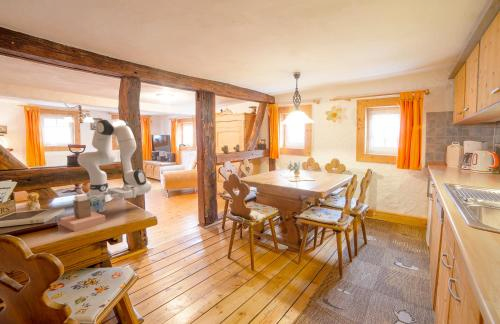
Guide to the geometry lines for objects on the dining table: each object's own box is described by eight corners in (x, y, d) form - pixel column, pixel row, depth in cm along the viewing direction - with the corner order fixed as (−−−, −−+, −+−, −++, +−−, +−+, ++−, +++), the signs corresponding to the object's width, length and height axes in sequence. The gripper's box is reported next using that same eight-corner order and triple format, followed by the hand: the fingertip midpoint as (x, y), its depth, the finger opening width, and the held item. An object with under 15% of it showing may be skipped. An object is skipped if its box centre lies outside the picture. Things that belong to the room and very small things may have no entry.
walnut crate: (74, 217, 139) (73, 200, 138) (86, 214, 144) (84, 198, 143) (79, 219, 135) (77, 202, 134) (91, 216, 140) (89, 199, 139)
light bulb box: (93, 215, 154) (92, 199, 153) (84, 214, 156) (83, 198, 155) (106, 210, 165) (105, 195, 164) (98, 209, 166) (97, 194, 165)
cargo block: (75, 200, 138) (74, 195, 137) (83, 198, 141) (83, 193, 141) (78, 201, 135) (78, 196, 135) (87, 199, 139) (87, 194, 139)
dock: (60, 224, 138) (60, 218, 138) (91, 216, 152) (90, 210, 151) (74, 231, 128) (73, 224, 128) (105, 222, 142) (105, 215, 141)
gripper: (119, 184, 168) (98, 188, 157) (136, 188, 157) (115, 192, 146) (120, 193, 169) (99, 197, 158) (137, 197, 158) (116, 202, 147)
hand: (107, 195), depth 152 cm, fingers open, 8 cm apart
